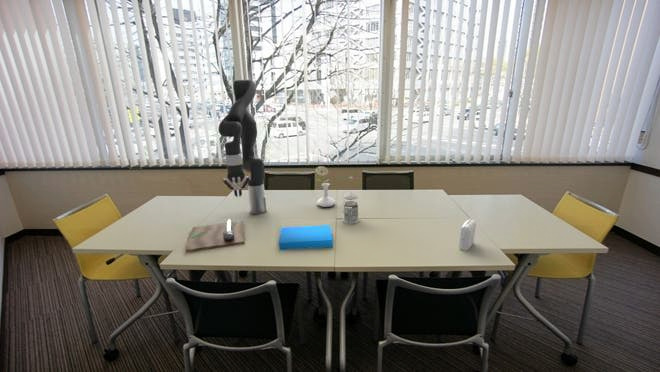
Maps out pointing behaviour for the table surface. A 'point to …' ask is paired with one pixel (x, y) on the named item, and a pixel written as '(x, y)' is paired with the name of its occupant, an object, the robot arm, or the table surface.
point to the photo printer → (467, 235)
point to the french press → (353, 212)
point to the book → (305, 237)
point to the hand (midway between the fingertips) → (238, 196)
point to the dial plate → (214, 236)
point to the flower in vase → (325, 200)
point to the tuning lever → (228, 233)
